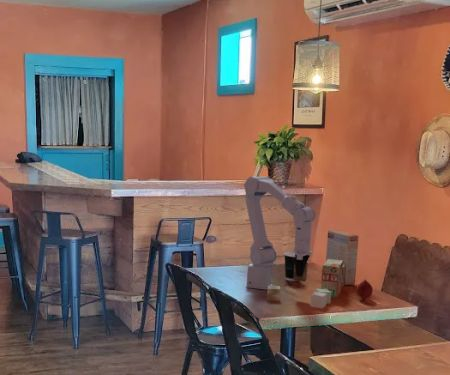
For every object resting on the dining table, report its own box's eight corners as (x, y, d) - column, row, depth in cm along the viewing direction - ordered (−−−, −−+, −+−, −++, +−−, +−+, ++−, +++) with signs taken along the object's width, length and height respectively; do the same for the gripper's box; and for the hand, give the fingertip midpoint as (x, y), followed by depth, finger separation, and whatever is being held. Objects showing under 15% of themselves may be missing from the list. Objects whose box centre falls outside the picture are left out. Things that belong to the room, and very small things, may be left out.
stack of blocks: (329, 283, 257) (331, 254, 255) (344, 285, 255) (346, 256, 253) (320, 295, 236) (322, 264, 235) (336, 298, 234) (338, 266, 233)
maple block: (267, 300, 227) (267, 288, 226) (266, 297, 231) (267, 285, 231) (279, 301, 226) (280, 289, 226) (278, 297, 231) (279, 286, 231)
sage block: (318, 304, 225) (319, 292, 225) (314, 300, 230) (315, 288, 229) (330, 304, 226) (331, 292, 226) (326, 300, 231) (326, 288, 230)
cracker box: (355, 284, 255) (359, 235, 253) (344, 285, 253) (347, 235, 251) (335, 276, 268) (338, 229, 266) (323, 277, 265) (327, 229, 263)
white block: (310, 306, 222) (311, 294, 221) (314, 303, 226) (315, 291, 225) (322, 308, 220) (323, 296, 219) (326, 305, 224) (327, 293, 223)
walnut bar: (293, 280, 229) (294, 264, 229) (294, 277, 234) (295, 261, 233) (305, 281, 228) (306, 265, 228) (306, 278, 233) (307, 263, 232)
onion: (372, 298, 236) (374, 278, 235) (371, 302, 230) (372, 281, 230) (357, 296, 238) (358, 276, 237) (355, 300, 232) (356, 279, 232)
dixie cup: (297, 277, 264) (299, 252, 263) (303, 282, 256) (305, 256, 255) (279, 277, 262) (281, 252, 261) (285, 282, 254) (287, 256, 253)
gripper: (311, 243, 221) (309, 280, 223) (315, 237, 236) (312, 271, 237) (292, 241, 223) (289, 278, 224) (296, 235, 237) (294, 269, 238)
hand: (300, 274), depth 231 cm, fingers closed on walnut bar, 4 cm apart
